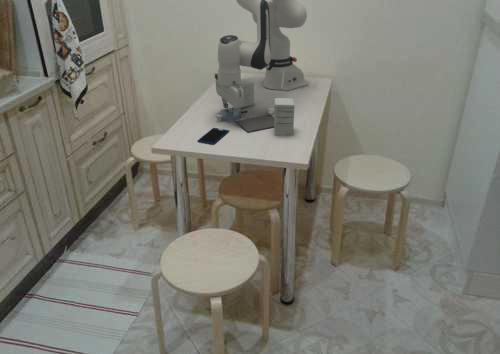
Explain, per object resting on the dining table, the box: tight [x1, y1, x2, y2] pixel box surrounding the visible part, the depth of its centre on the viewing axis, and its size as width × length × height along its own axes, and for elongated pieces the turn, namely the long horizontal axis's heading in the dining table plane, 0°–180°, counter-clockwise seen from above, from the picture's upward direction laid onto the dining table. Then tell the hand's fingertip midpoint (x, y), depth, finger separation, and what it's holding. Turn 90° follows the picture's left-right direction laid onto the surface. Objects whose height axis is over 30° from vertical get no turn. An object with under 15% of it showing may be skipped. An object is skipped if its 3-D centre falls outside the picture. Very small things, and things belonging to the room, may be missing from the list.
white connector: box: [266, 102, 275, 116], centre depth 202 cm, size 10×3×3 cm, turn 177°
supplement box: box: [273, 97, 295, 136], centre depth 182 cm, size 7×7×13 cm
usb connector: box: [215, 107, 248, 123], centre depth 196 cm, size 14×4×4 cm, turn 116°
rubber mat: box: [234, 114, 274, 134], centre depth 192 cm, size 16×12×1 cm
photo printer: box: [239, 77, 255, 109], centre depth 207 cm, size 10×4×12 cm, turn 123°
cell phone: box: [197, 127, 230, 146], centre depth 182 cm, size 7×14×1 cm, turn 157°
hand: (230, 111), depth 195 cm, fingers open, 8 cm apart
